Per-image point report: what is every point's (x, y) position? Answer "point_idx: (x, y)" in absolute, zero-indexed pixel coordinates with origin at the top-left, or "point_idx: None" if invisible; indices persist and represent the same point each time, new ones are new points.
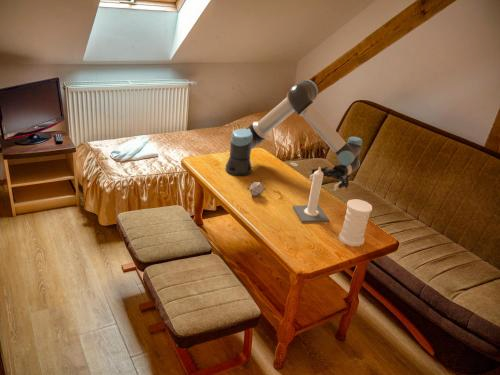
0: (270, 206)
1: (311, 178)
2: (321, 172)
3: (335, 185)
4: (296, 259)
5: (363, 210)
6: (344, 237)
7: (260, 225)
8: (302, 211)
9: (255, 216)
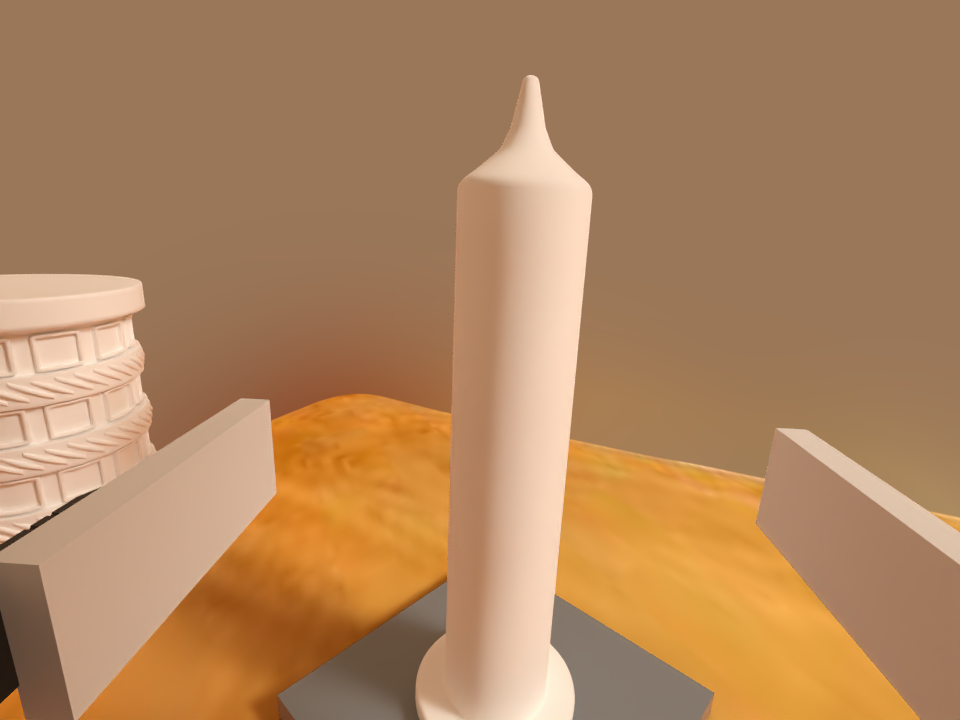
0: (804, 609)
1: (782, 502)
2: (489, 158)
3: (246, 402)
4: (381, 411)
5: (6, 276)
6: None
7: (622, 464)
8: (570, 659)
9: (709, 493)
